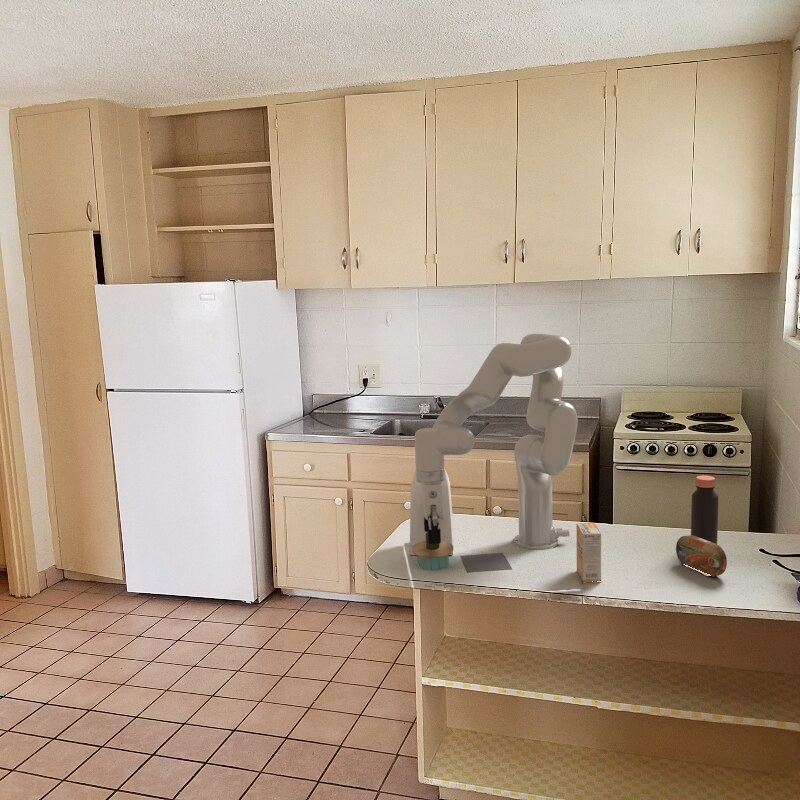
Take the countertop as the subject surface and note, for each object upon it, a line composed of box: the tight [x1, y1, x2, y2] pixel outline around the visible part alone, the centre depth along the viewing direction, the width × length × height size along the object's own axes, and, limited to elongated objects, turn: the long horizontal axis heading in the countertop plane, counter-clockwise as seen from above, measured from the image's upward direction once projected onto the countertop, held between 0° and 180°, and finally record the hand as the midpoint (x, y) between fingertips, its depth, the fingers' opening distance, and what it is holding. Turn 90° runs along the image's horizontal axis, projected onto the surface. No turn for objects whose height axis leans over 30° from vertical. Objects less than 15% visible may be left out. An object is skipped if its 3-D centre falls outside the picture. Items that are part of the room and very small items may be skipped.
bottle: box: [690, 475, 719, 545], centre depth 207 cm, size 7×7×20 cm
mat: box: [459, 552, 513, 573], centre depth 204 cm, size 12×12×1 cm
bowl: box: [417, 555, 450, 571], centre depth 204 cm, size 8×8×4 cm
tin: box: [675, 534, 728, 578], centre depth 193 cm, size 15×3×8 cm, turn 23°
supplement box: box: [576, 522, 602, 583], centre depth 192 cm, size 8×5×13 cm, turn 178°
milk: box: [409, 467, 455, 556], centre depth 215 cm, size 12×12×26 cm
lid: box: [412, 532, 454, 558], centre depth 203 cm, size 11×11×5 cm
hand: (432, 537), depth 203 cm, fingers open, 9 cm apart
